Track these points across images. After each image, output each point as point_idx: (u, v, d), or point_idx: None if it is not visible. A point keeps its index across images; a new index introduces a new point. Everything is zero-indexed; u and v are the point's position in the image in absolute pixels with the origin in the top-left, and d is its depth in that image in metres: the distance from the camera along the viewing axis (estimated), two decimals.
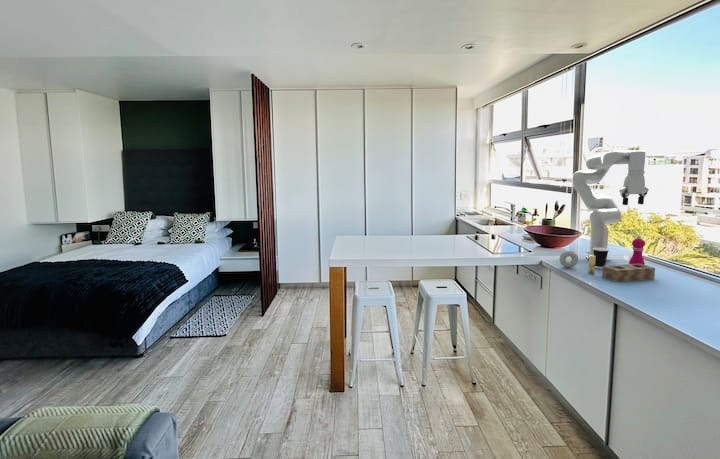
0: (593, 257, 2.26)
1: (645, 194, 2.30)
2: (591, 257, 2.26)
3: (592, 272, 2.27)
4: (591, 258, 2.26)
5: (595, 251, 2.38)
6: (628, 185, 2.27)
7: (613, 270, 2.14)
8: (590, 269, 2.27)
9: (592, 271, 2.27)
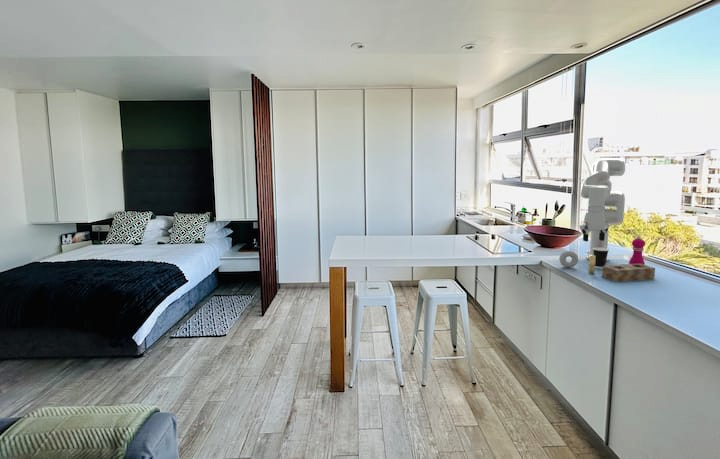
0: (593, 257, 2.26)
1: (606, 230, 2.25)
2: (591, 257, 2.26)
3: (592, 272, 2.27)
4: (591, 258, 2.26)
5: (595, 251, 2.38)
6: (588, 221, 2.22)
7: (613, 270, 2.14)
8: (590, 269, 2.27)
9: (592, 271, 2.27)
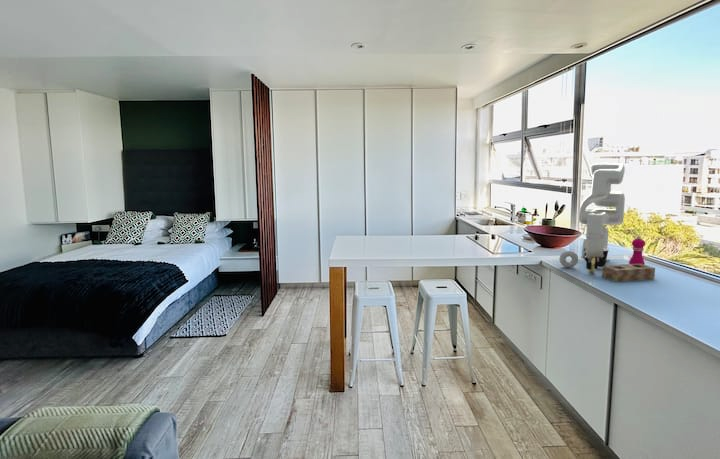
0: (593, 257, 2.26)
1: None
2: (591, 257, 2.26)
3: (592, 272, 2.27)
4: (591, 258, 2.26)
5: None
6: (586, 248, 2.24)
7: (613, 270, 2.14)
8: None
9: (592, 271, 2.27)
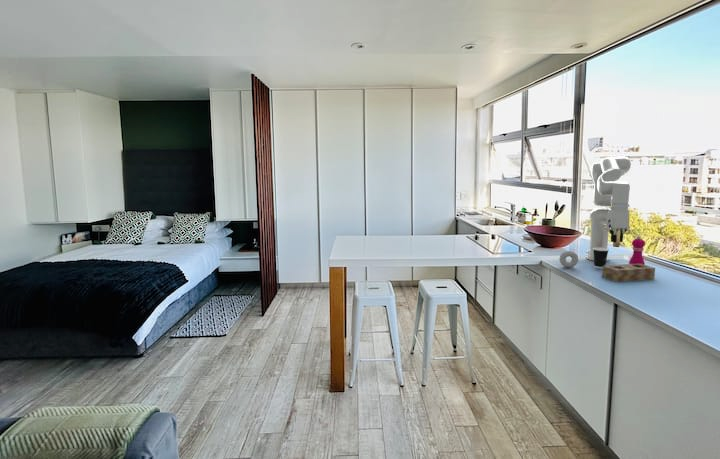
0: (618, 229, 2.14)
1: None
2: None
3: (617, 245, 2.15)
4: (616, 230, 2.15)
5: (595, 251, 2.38)
6: (611, 219, 2.13)
7: (613, 270, 2.14)
8: (615, 242, 2.16)
9: (617, 244, 2.15)
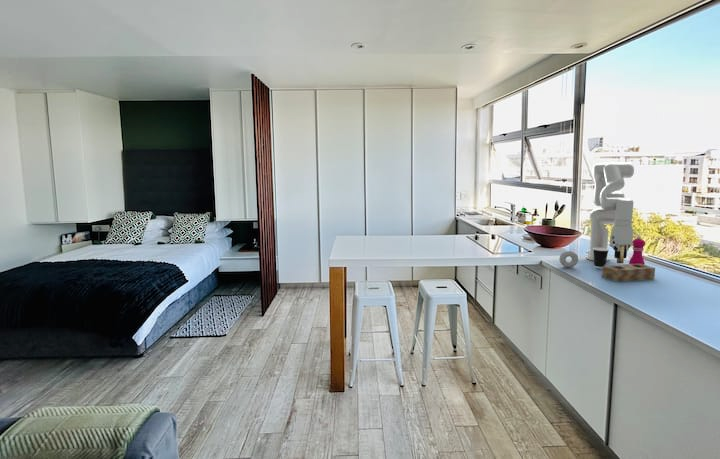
0: (622, 245, 2.13)
1: (628, 247, 2.15)
2: (620, 245, 2.14)
3: (621, 261, 2.15)
4: (620, 246, 2.14)
5: (595, 251, 2.38)
6: (615, 236, 2.12)
7: (613, 270, 2.14)
8: None
9: (621, 260, 2.15)
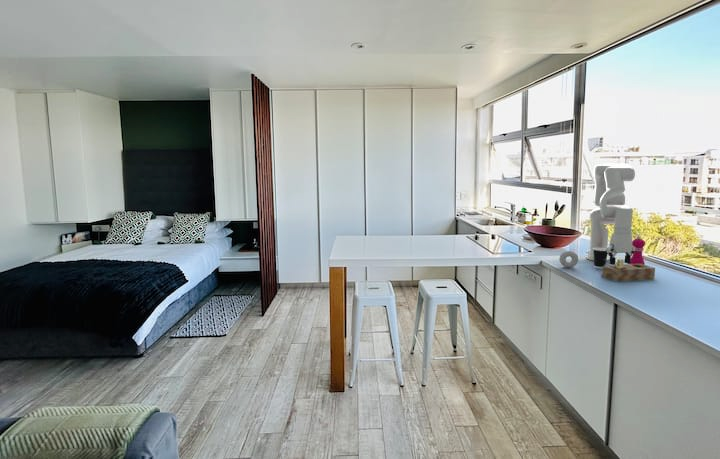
0: (621, 261, 2.15)
1: (632, 253, 2.16)
2: (619, 261, 2.16)
3: None
4: (619, 262, 2.16)
5: (595, 251, 2.38)
6: (614, 244, 2.13)
7: (613, 270, 2.14)
8: None
9: None
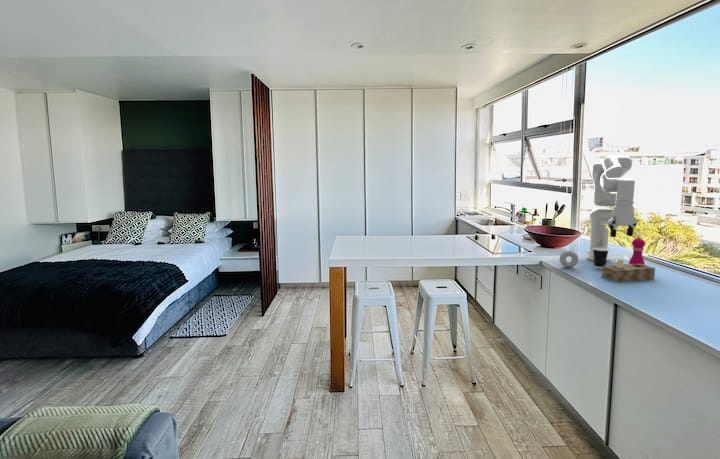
0: (621, 261, 2.15)
1: (634, 225, 2.14)
2: (619, 261, 2.16)
3: None
4: (619, 262, 2.16)
5: (595, 251, 2.38)
6: (616, 216, 2.11)
7: (613, 270, 2.14)
8: None
9: None
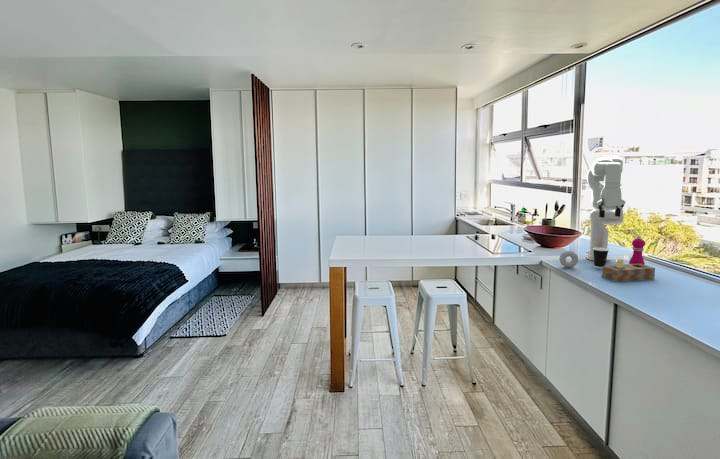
0: (621, 261, 2.15)
1: (622, 206, 2.29)
2: (619, 261, 2.16)
3: None
4: (619, 262, 2.16)
5: (595, 251, 2.38)
6: (604, 198, 2.26)
7: (613, 270, 2.14)
8: None
9: None
